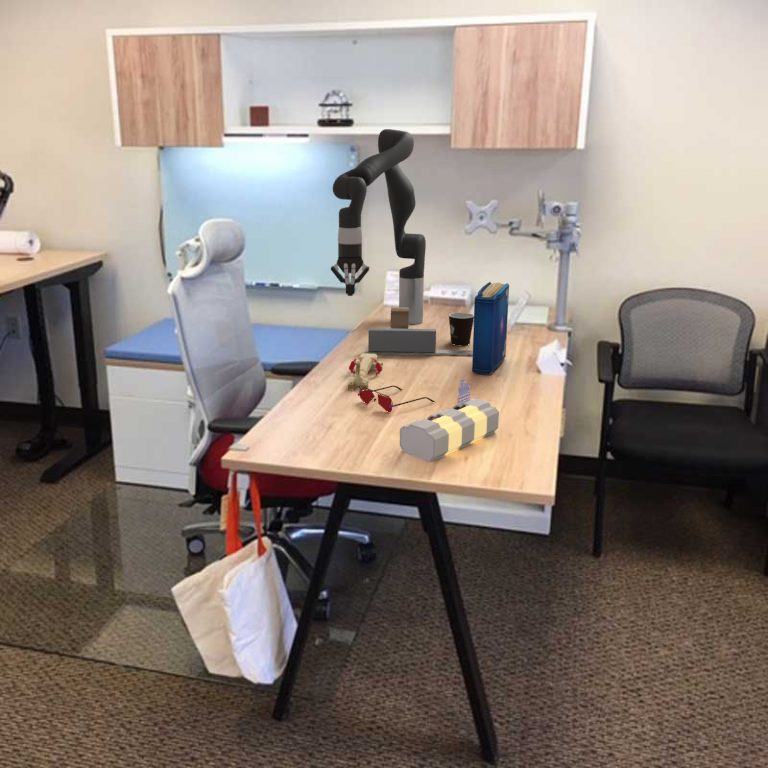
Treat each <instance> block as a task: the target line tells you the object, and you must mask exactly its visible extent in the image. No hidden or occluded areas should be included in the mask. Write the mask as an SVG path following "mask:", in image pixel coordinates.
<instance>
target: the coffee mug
mask: <svg viewBox="0 0 768 768" xmlns="http://www.w3.org/2000/svg"><path fill="white" fill-rule="evenodd" d="M448 322H449V323H448V324H449V332H450V333H449V334H450V344H451V343H452V344H455V345H467V346H469V345H471V338H472V330H473V327H474V313H473V314H472V313H469V312H453V313H449V314H448ZM452 344H451V345H452ZM468 344H469V345H468ZM455 345H454V346H455Z"/></svg>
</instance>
